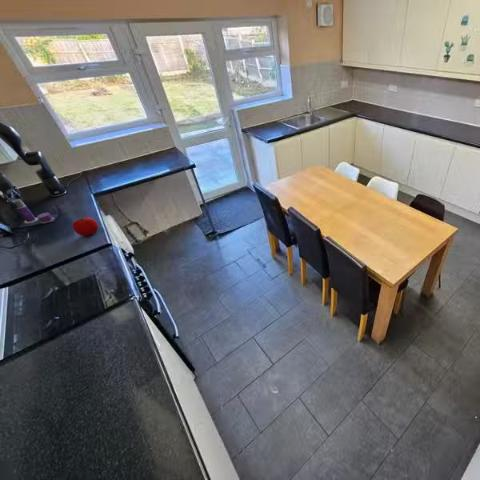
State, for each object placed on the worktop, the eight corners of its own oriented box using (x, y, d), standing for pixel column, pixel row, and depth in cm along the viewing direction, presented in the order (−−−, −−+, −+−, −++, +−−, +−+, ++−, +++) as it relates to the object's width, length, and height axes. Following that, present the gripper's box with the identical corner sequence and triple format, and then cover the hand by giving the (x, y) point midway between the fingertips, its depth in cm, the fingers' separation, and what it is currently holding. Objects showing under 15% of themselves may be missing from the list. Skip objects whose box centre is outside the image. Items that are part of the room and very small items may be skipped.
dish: (43, 218, 182) (39, 213, 180) (54, 216, 184) (50, 211, 182) (39, 223, 178) (35, 218, 175) (51, 221, 179) (47, 216, 177)
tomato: (76, 240, 162) (65, 225, 155) (81, 230, 171) (71, 216, 164) (99, 236, 166) (90, 220, 159) (103, 226, 174) (94, 211, 167)
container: (30, 222, 179) (14, 202, 170) (25, 221, 180) (8, 201, 170) (37, 218, 182) (22, 199, 173) (32, 218, 183) (16, 198, 174)
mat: (25, 219, 182) (25, 219, 182) (59, 213, 188) (59, 213, 188) (18, 228, 174) (17, 227, 174) (53, 221, 180) (53, 221, 179)
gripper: (-2, 178, 168) (16, 201, 178) (-14, 187, 158) (6, 211, 167) (13, 176, 170) (30, 198, 180) (2, 185, 160) (21, 209, 170)
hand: (19, 204), depth 174 cm, fingers open, 8 cm apart
